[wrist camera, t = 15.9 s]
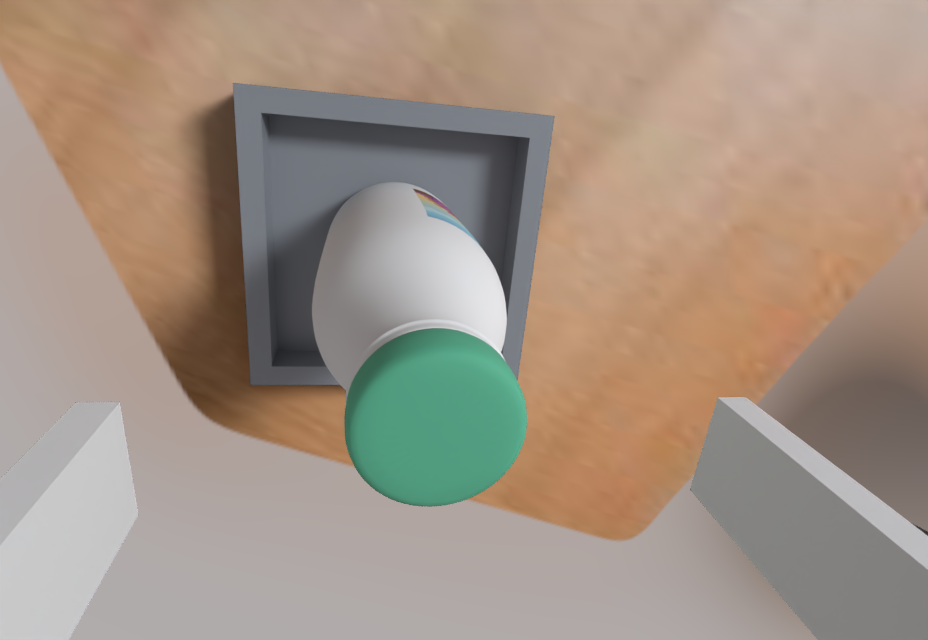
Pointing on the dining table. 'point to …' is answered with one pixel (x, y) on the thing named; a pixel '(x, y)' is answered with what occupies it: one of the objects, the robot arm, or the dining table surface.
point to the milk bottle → (417, 347)
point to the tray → (357, 167)
